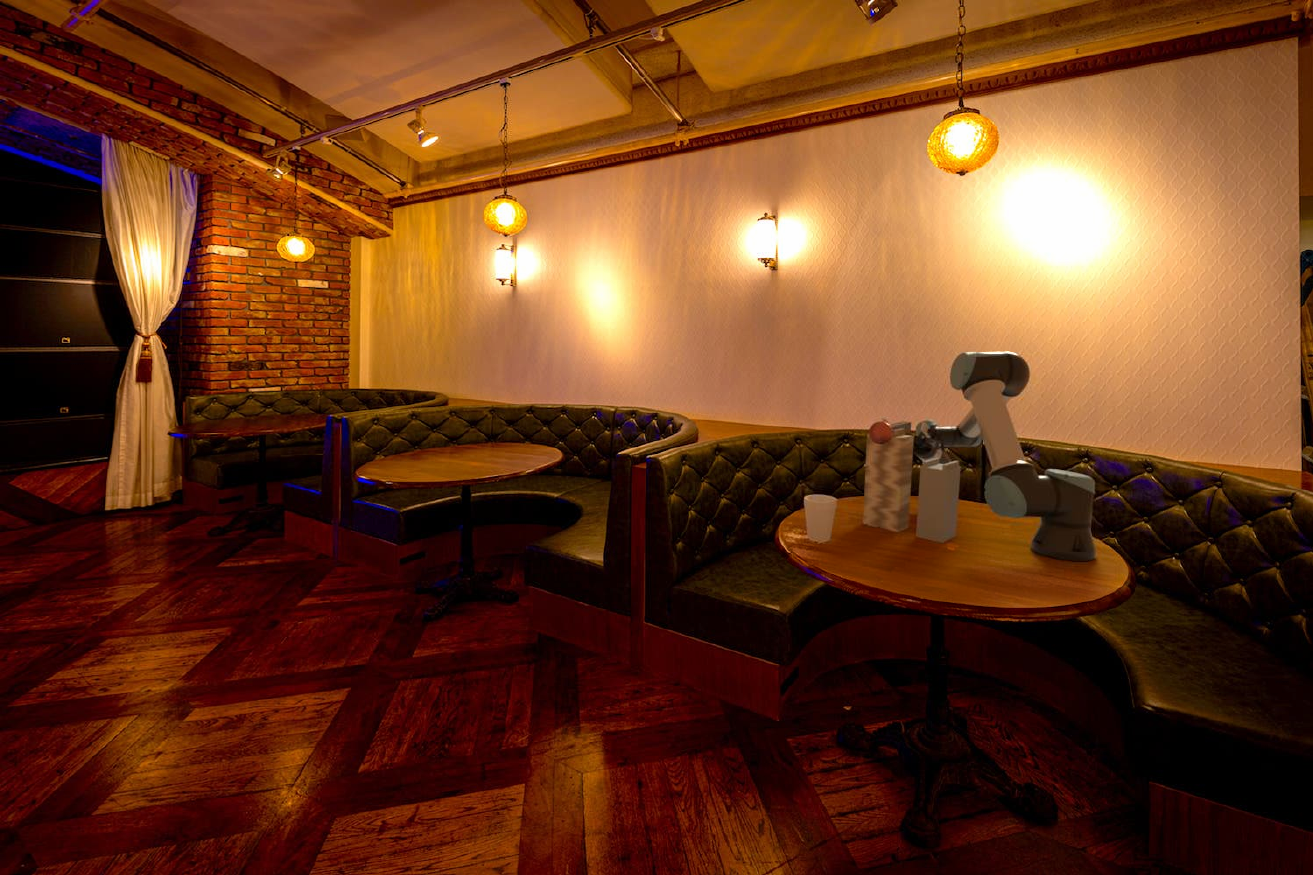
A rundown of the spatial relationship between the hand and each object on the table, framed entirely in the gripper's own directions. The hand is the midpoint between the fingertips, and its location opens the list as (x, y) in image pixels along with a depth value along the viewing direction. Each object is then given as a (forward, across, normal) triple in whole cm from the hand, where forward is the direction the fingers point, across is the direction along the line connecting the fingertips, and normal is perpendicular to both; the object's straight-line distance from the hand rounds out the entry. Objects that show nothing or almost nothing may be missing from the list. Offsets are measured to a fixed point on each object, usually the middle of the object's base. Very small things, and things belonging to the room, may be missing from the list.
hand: (901, 423), depth 194 cm
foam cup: (+14, +6, -47) cm, 49 cm away
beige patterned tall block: (-10, 0, -32) cm, 34 cm away
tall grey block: (-11, -16, -32) cm, 37 cm away
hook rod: (+2, 0, -7) cm, 7 cm away
